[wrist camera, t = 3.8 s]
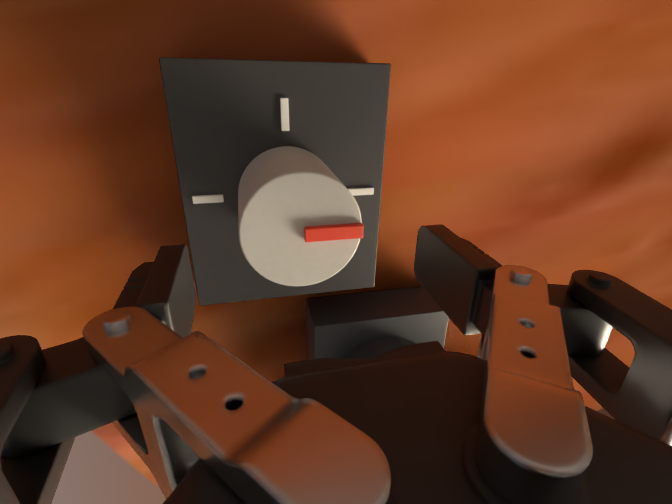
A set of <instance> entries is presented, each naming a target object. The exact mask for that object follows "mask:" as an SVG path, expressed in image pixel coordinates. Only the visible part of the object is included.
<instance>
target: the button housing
mask: <svg viewBox="0 0 672 504" xmlns="http://www.w3.org/2000/svg"><path fill="white" fill-rule="evenodd" d="M448 320H449V317H448V316H447V315H446V313H445V312H444V311H443V310H442V309H441V308H440V307H439V305H438V304H437V303H436V302H435V301H434V300H433V298H432V297H431V296H430V295H429V294H428V293H427V291H426V290H425V289H424V288H423V287H422V286H420V287H411V288H401V289H392V290H383V291H374V292H365V293H356V294H347V295H337V296H328V297H319V298H310V299H306V324H307V360H313V359H319V358H350V359H368V358H372V357H374V356H377V355H380V354H382V353H385V352H388V351H390V350H393V349H396V348H398V347H401V346H405V345H412V344H418V343H425V342H432V341H438V342H439V343H440V344H441V346H442V347H443V348H444V342H445V337H446V331H447V326H448Z"/></svg>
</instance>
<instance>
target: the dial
mask: <svg viewBox="0 0 672 504" xmlns="http://www.w3.org/2000/svg"><path fill="white" fill-rule="evenodd" d="M363 228H364V225H363V224H362V219H361V213H360V210H359V206H358V204H357V202H356V200H355V198H354V197H353V195H352V194H351V192H350V191H349V190H348V189H347V188H346V187H345V186H344V184H343V183H342V182H341V181H340V180H339V179H338V178H337V177H336V176H335V175H334V174H333V172H332V171H331V170H330V169H329V168H328V167H327V166H326V165H325V164H324V163H323V161H322V160H321V159H319V158H318V157H317V156H316V155H314V154H313V153H311V152H309V151H307V150H305V149H302V148H298V147H291V146H283V147H276V148H272V149H270V150H267V151H265V152H263V153H261V154H260V155H258V156H257V157H256V158H254V159H253V160H252V161H251V162H250V163H249V165H248V166H247V167H246V169H245V171H244V172H243V174H242V177H241V179H240V183H239V189H238V236H239V242H240V246H241V249H242V252H243V254H244V256H245V258H246V260H247V261H248V263H249V264H250V265H251V266H252V267H253V268H254V270H255V271H257V272H258V273H259V274H260V275H262V276H263V277H265V278H267V279H268V280H271V281H273V282H275V283H278V284H282V285H287V286H307V285H312V284H316V283H319V282H322V281H324V280H326V279H328V278H330V277H332V276H333V275H335V274H336V273H338V272H339V271H340V270H341V269H342V268H344V266H345V265H346V264H347V263H348V262H349V261H350V259H351V258H352V257H353V255H354V253H355V251H356V249H357V247H358V244H359V241H360V238H363Z"/></svg>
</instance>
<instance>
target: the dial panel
mask: <svg viewBox="0 0 672 504" xmlns="http://www.w3.org/2000/svg"><path fill="white" fill-rule="evenodd" d="M159 62H160V68H161V74H162V80H163V86H164V92H165V99H166V105H167V111H168V117H169V123H170V129H171V135H172V141H173V148H174V154H175V160H176V166H177V172H178V178H179V184H180V190H181V197H182V203H183V209H184V215H185V221H186V227H187V233H188V239H189V246H190V252H191V258H192V264H193V270H194V276H195V282H196V288H197V295H198V301H199V305H210V304H219V303H229V302H238V301H247V300H257V299H266V298H276V297H285V296H294V295H304V294H313V293H322V292H332V291H341V290H351V289H360V288H369V287H374V283H375V270H376V256H377V243H378V230H379V216H380V203H381V189H382V176H383V163H384V149H385V136H386V122H387V109H388V96H389V82H390V69H391V64H386V63H350V62H313V61H277V60H241V59H204V58H168V57H160V58H159ZM283 146H291V147H298V148H302V149H305V150H307V151H309V152H311V153H313V154H314V155H316V156H317V157H318V158H319V159H321V160H322V161H323V163H324V164H325V165H326V166H327V167H328V168H329V169H330V170H331V171H332V172H333V174H334V175H335V176H336V177H337V178H338V179H339V180H340V181H341V182H342V183H343V184H344V186H345V187H346V188H347V189H348V190H349V191H350V192H351V194H352V195H353V197H354V198H355V200H356V202H357V204H358V206H359V210H360V213H361V219H362V224H363V225H364V228H363V238H360V241H359V244H358V247H357V249H356V251H355V253H354V255H353V257H352V258H351V259H350V261H349V262H348V263H347V264H346V265H345V266H344V268H342V269H341V270H340V271H339V272H338V273H336V274H335V275H333V276H332V277H330V278H328V279H326V280H324V281H322V282H319V283H316V284H312V285H307V286H287V285H282V284H278V283H275V282H273V281H271V280H268V279H267V278H265V277H263V276H262V275H260V274H259V273H258V272H257V271H255V270H254V268H253V267H252V266H251V265H250V264H249V263H248V261H247V260H246V258H245V256H244V254H243V252H242V249H241V246H240V242H239V236H238V189H239V183H240V179H241V177H242V174H243V172H244V171H245V169H246V167H247V166H248V165H249V163H250V162H251V161H252V160H253V159H254V158H256V157H257V156H258V155H260V154H261V153H263V152H265V151H267V150H270V149H272V148H276V147H283Z"/></svg>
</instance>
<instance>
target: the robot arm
mask: <svg viewBox="0 0 672 504" xmlns="http://www.w3.org/2000/svg"><path fill="white" fill-rule="evenodd" d="M414 272H415V276H416V279H417V281H418V282H419V283H420V285H421V286H422V287H423V288H424V289H425V290H426V291H427V293H428V294H429V295H430V296H431V297H432V298H433V300H434V301H435V302H436V303H437V304H438V305H439V307H440V308H441V309H442V310H443V311H444V312H445V313H446V315H447V316H448V317H449V318H450V319H451V320H452V322H453V323H454V324H455V325H456V326H457V327H458V328H459V330H460V331H461V332H462V333H463V334H464V335H471V334H478V333H482V335H481V340H480V344H479V351H478V357H475V356H472V355H468V354H463V353H458V352H450V351H445V350H444V348H443V347H442V346H441V344H440V343H439V342H438V341H432V342H425V343H418V344H412V345H405V346H401V347H398V348H396V349H393V350H390V351H388V352H385V353H382V354H380V355H377V356H374V357H372V358H368V359H350V358H319V359H313V360H306V361H300V362H293V363H286V364H284V374H285V376H284V377H282V378H279V379H277V380H275V381H273V382H271V381H269V380H268V379H266V378H265V377H264V376H262V375H261V374H259V373H258V372H256V371H255V370H254V369H252V368H251V367H249V366H248V365H247V364H245V363H244V362H242V361H241V360H239V359H238V358H237V357H235V356H234V355H232V354H231V353H230V352H228V351H227V350H225V349H224V348H222V347H221V346H220V345H218V344H217V343H215V342H214V341H213V340H211V339H210V338H208V337H207V336H205V335H204V334H203V333H201V332H199V331H195V332H192V333H191V328H192V322H193V316H194V311H195V302H196V298H195V287H194V281H193V275H192V269H191V264H190V258H189V252H188V248H187V245H186V244H180V245H167V246H161V247H160V249H159V251H158V254H157V256H156V258H155V261H154V262H144V263H143V264H141V265H140V266H139V267H137V268H136V269H135V270H133V271H132V273H131V275H130V277H129V279H128V282H127V283H126V285H125V286H124V290H122V292H121V294H120V296H119V298H118V300H117V302H116V304H115V306H114V308H113V309H112V310H109V311H106V312H104V313H102V314H100V315H98V316H96V317H94V318H93V319H91V320H90V321H89V322H88V323H87V324H86V325H85V327H84V329H83V336H84V337H82V338H80V339H77V340H74V341H71V342H68V343H65V344H61V345H58V346H54V347H51V348H47V349H44V350H41V347H40V345H39V342H38V340H37V339H36V338H34V337H31V336H26V335H17V336H10V337H5V338H1V339H0V504H51V503H52V500H53V497H54V495H55V492H56V489H57V486H58V483H59V481H60V478H61V475H62V472H63V470H64V467H65V464H66V461H67V459H68V456H69V453H70V450H71V448H72V445H73V442H74V439H75V437H76V436H78V435H81V434H83V433H86V432H88V431H91V430H93V429H96V428H98V427H101V426H103V425H106V424H108V423H111V422H113V424H114V426H115V427H116V428H117V429H118V431H119V432H120V433H121V434H122V436H123V437H124V438H125V439H126V440H127V442H128V443H129V444H130V445H131V447H132V448H133V449H134V450H135V452H136V453H137V454H138V455H139V456H140V458H141V459H142V460H143V461H144V463H145V464H146V465H147V466H148V468H149V469H150V470H151V472H152V474H153V475H154V477H155V479H156V481H157V483H158V485H159V487H160V489H161V491H162V493H163V494H164V496H165V498H166V500H165V502H164V503H163V504H672V310H671V309H670V308H668V307H666V306H664V305H663V304H661V303H659V302H658V301H656V300H654V299H652V298H651V297H649V296H647V295H646V294H644V293H642V292H640V291H639V290H637V289H635V288H634V287H632V286H630V285H628V284H627V283H625V282H623V281H622V280H620V279H618V278H616V277H614V276H611V275H609V274H606V273H603V272H598V271H592V270H578V271H575V272H573V274H572V276H571V280H570V283H569V285H556V284H547V280H546V278H545V277H544V276H543V275H542V274H540V273H539V272H537V271H535V270H532V269H529V268H526V267H522V266H515V265H506V266H502V265H501V264H499V263H498V262H497V261H495V260H494V259H493V258H491V257H490V256H489V255H487V254H485V253H484V252H483V251H482V250H480V249H478V247H476V246H475V245H473V244H472V243H471V242H469V241H467V240H465V239H462V238H460V237H458V236H457V235H456V234H454V233H453V232H452V231H450V230H449V229H448V228H446V227H445V226H444V225H428V226H421V227H420V229H419V231H418V237H417V246H416V254H415V263H414ZM612 328H615V329H616V330H617V331H619V332H620V333H621V334H623V335H624V336H626V337H627V338H628V339H629V340H630V341H631V343H632V344H633V346H634V349H635V357H634V359H633V362H632V364H631V366H630V368H629V367H628V366H627V365H625V364H624V363H623V362H622V361H620V360H619V359H618V358H617V357H615V356H614V355H613V354H612V353H611V352H609V351H608V350H607V349H606V348H604V347H605V345H606V342H607V340H608V337H609V335H610V332H611V330H612ZM572 377H573V378H574V379H575V380H576V381H577V382H578V383H579V384H580V385H581V386H582V387H583V388H584V389H585V390H586V391H587V392H588V393H589V394H590V395H591V396H592V397H593V398H594V399H595V400H596V401H597V402H598V403H599V404H600V405H601V406H602V407H603V408H604V409H605V410H606V411H608V413H609V414H610V415H611V416H612V417H613V418H614V419H615V420H614V419H612V418H610V417H608V416H605V415H603V414H601V413H599V412H597V411H595V410H593V409H590V408H588V407H586V406H585V405H584V400H583V397H582V394H581V393H580V392H579V391H576V390H574V387H573V382H572Z"/></svg>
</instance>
